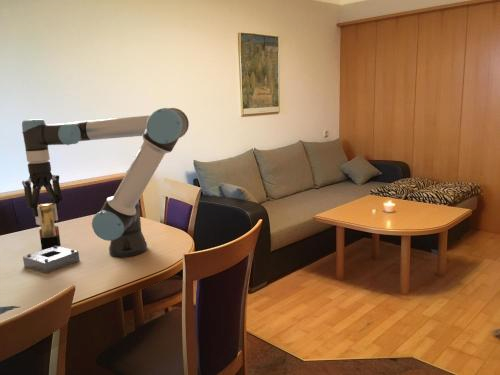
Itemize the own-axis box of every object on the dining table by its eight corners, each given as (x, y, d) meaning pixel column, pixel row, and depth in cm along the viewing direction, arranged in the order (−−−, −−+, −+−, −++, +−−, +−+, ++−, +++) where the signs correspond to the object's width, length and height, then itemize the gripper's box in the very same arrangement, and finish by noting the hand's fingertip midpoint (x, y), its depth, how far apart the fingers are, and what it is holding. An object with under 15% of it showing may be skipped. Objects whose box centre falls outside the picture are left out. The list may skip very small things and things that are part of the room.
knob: (60, 234, 162) (56, 204, 160) (46, 239, 158) (42, 207, 155) (51, 232, 166) (47, 202, 163) (37, 237, 161) (33, 206, 158)
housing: (79, 260, 166) (78, 249, 165) (46, 273, 154) (44, 261, 153) (57, 255, 173) (56, 244, 172) (24, 266, 162) (22, 255, 161)
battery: (58, 249, 180) (55, 226, 178) (41, 250, 179) (38, 228, 177) (61, 245, 185) (58, 223, 182) (44, 247, 183) (41, 225, 181)
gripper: (55, 157, 166) (63, 215, 170) (7, 165, 150) (17, 227, 155) (67, 158, 162) (75, 217, 166) (19, 166, 146) (29, 230, 151)
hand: (47, 222), depth 161 cm, fingers closed on knob, 6 cm apart
